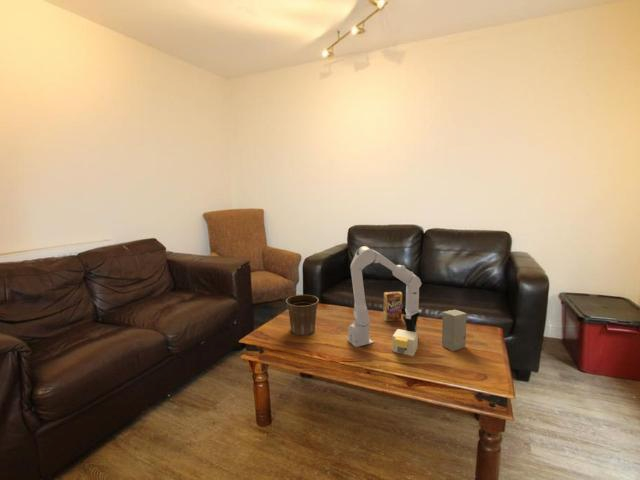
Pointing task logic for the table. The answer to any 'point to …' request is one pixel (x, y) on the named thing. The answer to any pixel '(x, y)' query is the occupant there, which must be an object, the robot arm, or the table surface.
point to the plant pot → (302, 313)
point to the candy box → (392, 306)
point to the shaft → (402, 350)
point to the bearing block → (412, 341)
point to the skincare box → (454, 329)
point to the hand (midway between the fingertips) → (411, 328)
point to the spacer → (401, 342)
